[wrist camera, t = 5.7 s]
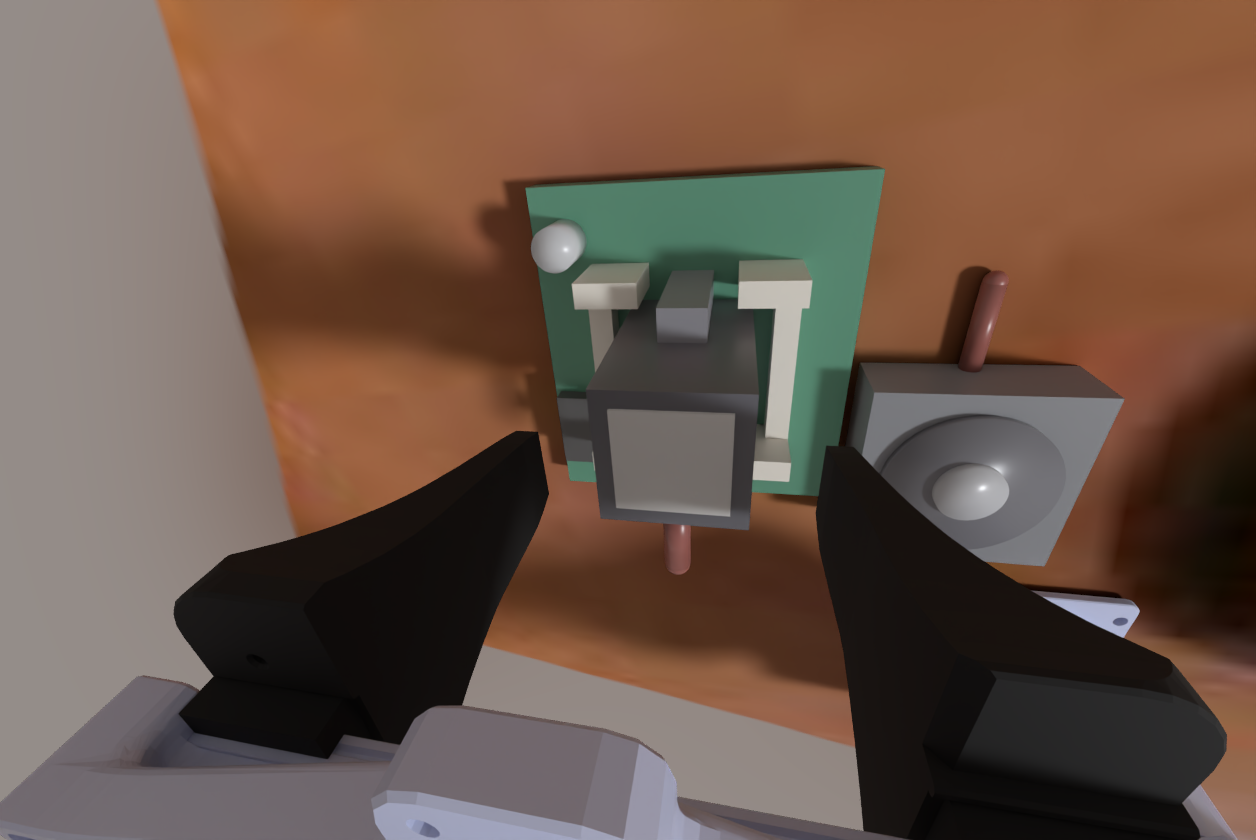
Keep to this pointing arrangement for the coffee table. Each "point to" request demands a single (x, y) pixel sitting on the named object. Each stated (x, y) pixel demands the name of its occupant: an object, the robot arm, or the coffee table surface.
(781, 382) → the board
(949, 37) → the coffee table surface
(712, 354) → the plug
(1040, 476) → the grey dished knob block
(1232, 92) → the coffee table surface
